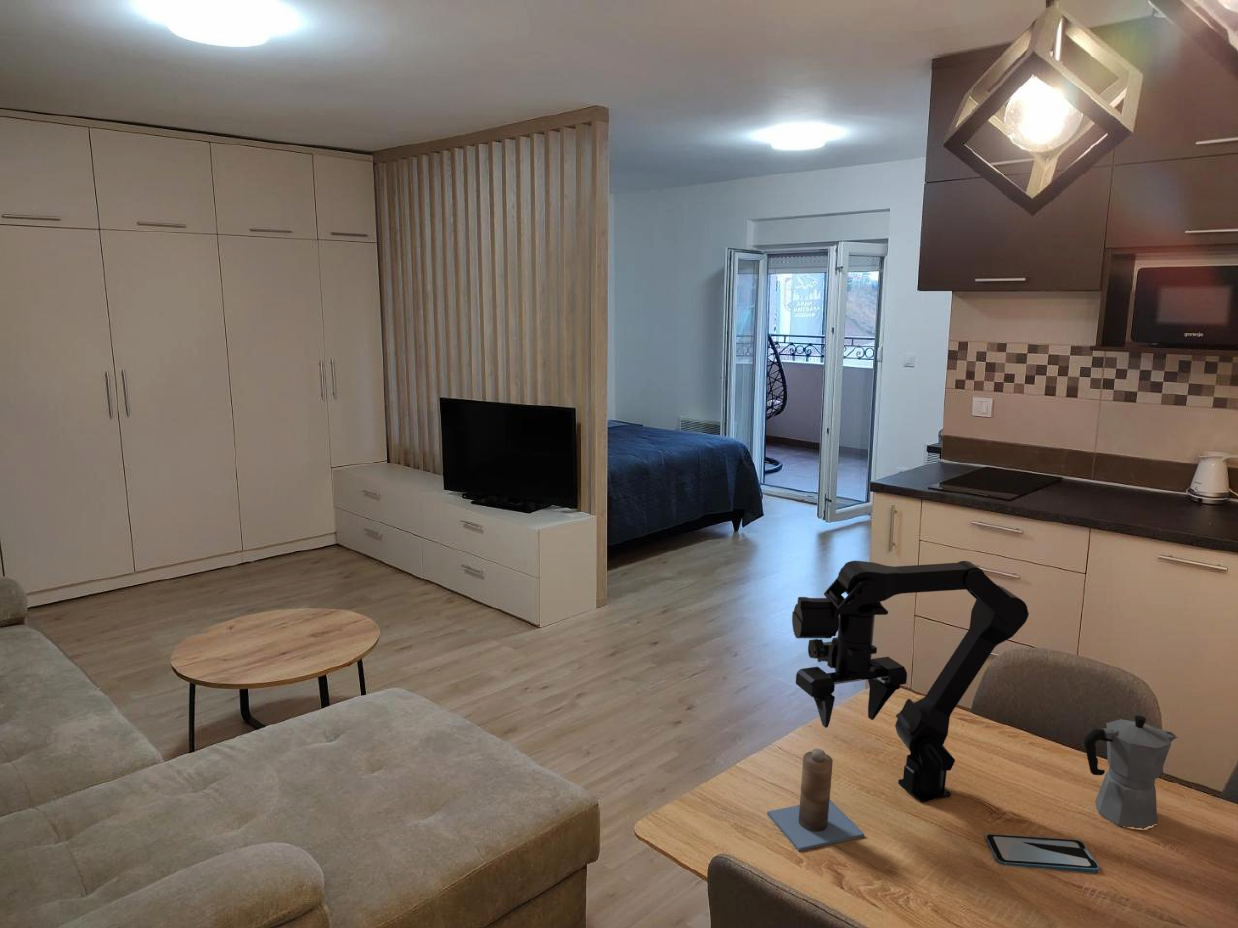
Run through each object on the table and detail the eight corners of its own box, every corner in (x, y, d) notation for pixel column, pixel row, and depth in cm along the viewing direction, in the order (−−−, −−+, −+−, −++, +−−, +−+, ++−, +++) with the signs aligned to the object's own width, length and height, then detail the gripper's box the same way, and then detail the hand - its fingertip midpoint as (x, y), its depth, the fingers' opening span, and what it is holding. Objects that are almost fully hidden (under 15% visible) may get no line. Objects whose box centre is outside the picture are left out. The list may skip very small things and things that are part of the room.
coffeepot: (1145, 798, 148) (1160, 702, 145) (1182, 831, 139) (1199, 730, 135) (1059, 798, 148) (1072, 702, 144) (1090, 832, 138) (1105, 730, 135)
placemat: (829, 801, 145) (829, 798, 145) (864, 836, 136) (864, 833, 136) (767, 813, 141) (767, 811, 141) (798, 850, 132) (798, 848, 132)
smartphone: (983, 832, 137) (1081, 839, 135) (983, 838, 137) (1080, 844, 136) (998, 862, 130) (1101, 869, 128) (997, 868, 130) (1101, 875, 128)
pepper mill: (826, 815, 140) (831, 745, 137) (828, 833, 136) (834, 761, 133) (797, 812, 141) (802, 743, 138) (799, 829, 136) (804, 758, 134)
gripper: (872, 614, 153) (866, 694, 156) (781, 625, 147) (776, 708, 150) (913, 637, 143) (904, 723, 146) (816, 650, 137) (810, 739, 140)
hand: (848, 722), depth 146 cm, fingers open, 9 cm apart
